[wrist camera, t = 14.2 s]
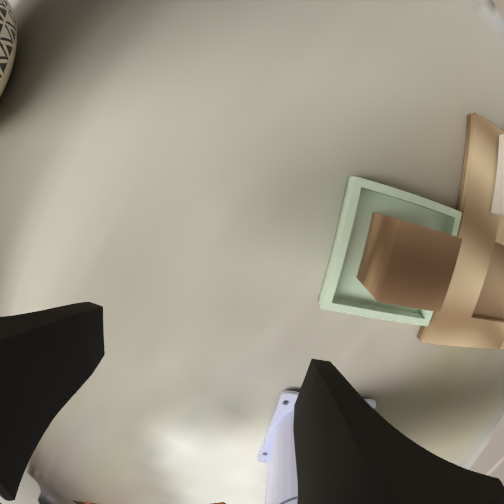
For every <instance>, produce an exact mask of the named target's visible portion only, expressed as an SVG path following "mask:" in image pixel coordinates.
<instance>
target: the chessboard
mask: <svg viewBox="0 0 504 504" xmlns="http://www.w3.org/2000/svg"><path fill="white" fill-rule="evenodd" d="M73 501H74V500H73ZM74 502H75V503H76V504H94V503H87V502H80V501H74ZM213 504H225V503H224V502H221V503H213Z"/></svg>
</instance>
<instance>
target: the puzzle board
mask: <svg viewBox="0 0 504 504" xmlns="http://www.w3.org/2000/svg"><path fill="white" fill-rule="evenodd" d="M502 134H504V131H503V130H501V129H500V128H498V127H497V126H495V125H493V124H492V123H490V122H489V121H487V120H486V119H484V118H482V117H481V116H479V115H477V114H476V113H473V114H470V115H467V130H466V144H465V154H464V163H463V171H462V178H461V185H460V191H459V197H458V202H457V207H456V210H458V211H460V212H462V216H461V220H460V225H459V229H458V234H457V237H459V238H462V243H461V247H460V251H459V254H458V258H457V262H456V265H455V269H454V272H453V275H452V279H451V282H450V285H449V288H448V291H447V294H446V297H445V300H444V303H443V306H442V308H441V311H440V312H435V311H434V312H433V314H432V317H431V320H430V322H429V325H428V326H421V328H420V330H419V333H418V335H417V337H418V338H419V340H420V341H421V342H422V343H429V344H439V345H449V346H461V347H474V348H489V349H504V217H502V216H497V215H495V214H493V213H491V208H492V202H493V196H494V189H495V182H496V173H497V163H498V149H499V135H502Z"/></svg>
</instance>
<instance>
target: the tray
mask: <svg viewBox="0 0 504 504" xmlns="http://www.w3.org/2000/svg"><path fill="white" fill-rule="evenodd" d="M373 212H374V213H378V214H382V215H385V216H389V217H393V218H397V219H401V220H404V221H407V222H411V223H414V224H418V225H421V226H424V227H428V228H431V229H434V230H437V231H440V232H444V233H447V234H450V235H453V236H456V237H457V234H458V229H459V225H460V220H461V216H462V212H460V211H458V210H455V209H453V208H450V207H447V206H445V205H442V204H439V203H437V202H434V201H431V200H429V199H426V198H423V197H420V196H417V195H414V194H411V193H408V192H405V191H402V190H399V189H396V188H393V187H390V186H387V185H384V184H380V183H377V182H374V181H370V180H367V179H363V178H360V177H356V176H352V177H348V182H347V187H346V191H345V196H344V201H343V205H342V210H341V214H340V219H339V223H338V227H337V231H336V235H335V239H334V244H333V247H332V251H331V255H330V259H329V263H328V267H327V270H326V274H325V278H324V281H323V285H322V289H321V292H320V296H319V299H318V300H319V303H320V306H321V309H325V310H330V311H336V312H341V313H347V314H353V315H358V316H364V317H370V318H376V319H382V320H388V321H394V322H401V323H407V324H414V325H421V326H428V325H429V322H430V320H431V317H432V314H433V312H434V311H429V310H423V309H417V308H411V307H405V306H399V305H393V304H387V303H381V302H377V301H376V300H375V298H374V297H373V296H372V295H371V294H370V293H369V291H368V290H367V289H366V288H365V287H364V286H363V284H362V283H361V282H360V281H359V280H358V279H357V278H356V277H357V273H358V270H359V266H360V263H361V259H362V255H363V251H364V247H365V243H366V239H367V235H368V231H369V227H370V222H371V218H372V213H373Z"/></svg>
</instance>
